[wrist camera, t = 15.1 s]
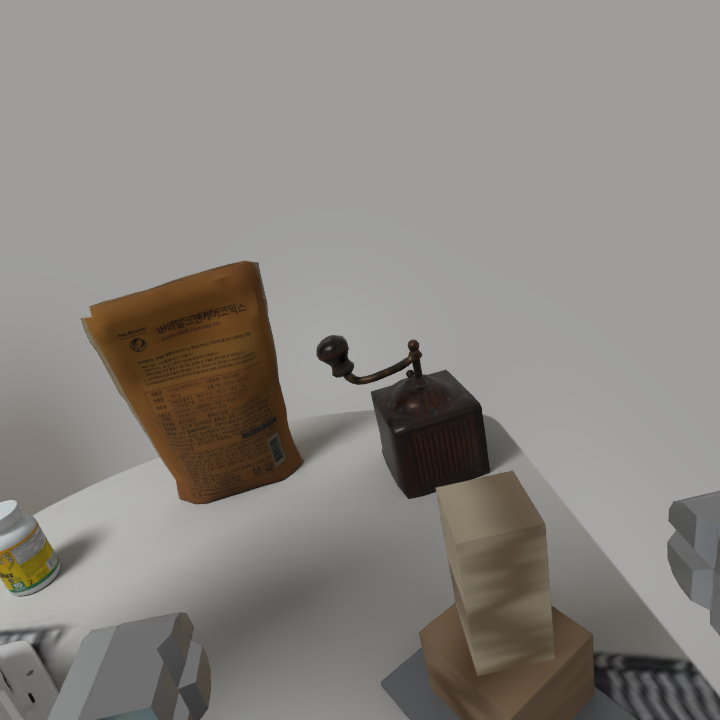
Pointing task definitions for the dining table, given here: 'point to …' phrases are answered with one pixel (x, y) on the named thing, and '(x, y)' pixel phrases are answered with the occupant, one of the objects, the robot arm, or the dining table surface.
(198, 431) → the pancake mix bag
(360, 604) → the dining table surface
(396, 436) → the manual coffee grinder
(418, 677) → the mat
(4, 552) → the supplement bottle
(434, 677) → the walnut block
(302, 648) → the dining table surface
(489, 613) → the oak column
